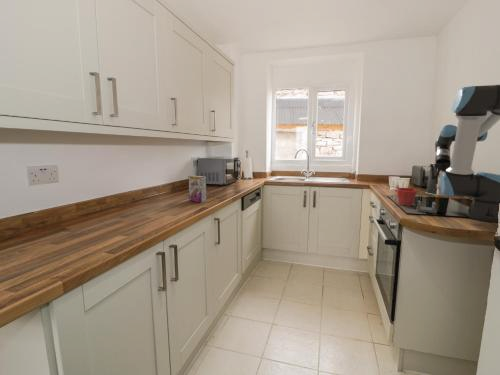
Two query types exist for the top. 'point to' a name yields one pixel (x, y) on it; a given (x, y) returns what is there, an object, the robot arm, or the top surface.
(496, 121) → the robot arm
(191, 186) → the candy bar box
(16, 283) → the top surface
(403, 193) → the flower pot
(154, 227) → the top surface
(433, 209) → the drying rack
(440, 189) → the white tall block
